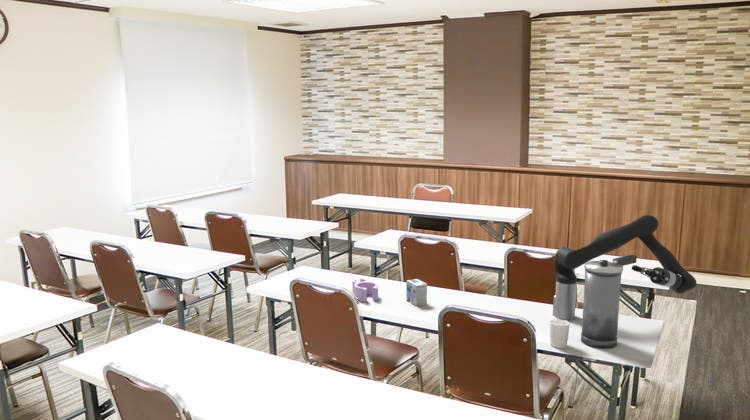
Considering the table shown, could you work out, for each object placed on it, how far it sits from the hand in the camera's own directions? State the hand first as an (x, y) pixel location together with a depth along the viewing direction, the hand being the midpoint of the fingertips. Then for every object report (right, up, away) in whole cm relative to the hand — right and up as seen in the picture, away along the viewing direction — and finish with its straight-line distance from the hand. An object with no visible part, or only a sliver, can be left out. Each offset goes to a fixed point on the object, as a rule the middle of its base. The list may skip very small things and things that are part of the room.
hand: (640, 270), depth 261 cm
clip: (-122, -20, +55) cm, 135 cm away
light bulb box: (-95, -21, +45) cm, 107 cm away
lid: (-16, +3, -10) cm, 19 cm away
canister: (-22, -30, -8) cm, 38 cm away
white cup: (-40, -30, -11) cm, 51 cm away
